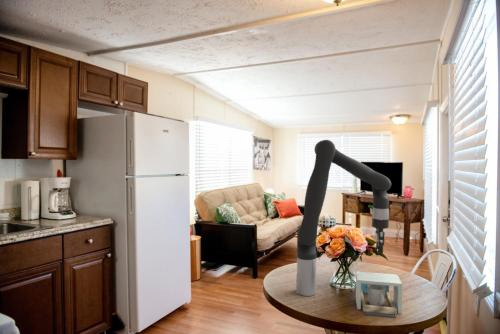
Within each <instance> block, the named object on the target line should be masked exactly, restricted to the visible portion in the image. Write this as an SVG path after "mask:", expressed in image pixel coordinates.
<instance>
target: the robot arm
mask: <svg viewBox="0 0 500 334" xmlns="http://www.w3.org/2000/svg"><path fill="white" fill-rule="evenodd" d="M314 154H315V161H314V166H313V169H312V171H311V172H312V173H311V176H310V177H309V180H308V183H307V187H306V190H305V197H304V204H303V205H304V208H303V216H302V219H301V220H302V221H301V224H300V226H299V227H298V229H297V231H296V232H297V233H296V243H297V245H296V254H297V255H296V256H297V258H296V260H297V261H296V263H297V264H296V265H297V266H296V270H297V271H296V285H295V286H296V287H295V288H296V294H297V295H300V296H305V297H310V296H311V297H312V296H315V295H317V238H318V226H319V220H320V216H321V212H322V210H323V206H324V203H325V199H326V195H327V191H328V190H327V189H328V183H329V182H328V181H329V176H330V175H329V174H330V170H331V166H332V164H335V165H337V166H338V167H340V168H341V169H343V170H345V171H346V172H347V173H349V174H351V175H352V176H354V177H355V178H357V179H359V180H361V181H363V182H365V183H367V184H369V185H371V191H372V198H373V199H372V214H371V227H372V228H375V230H374V232H375V233H374V234H375V236H374V237H375V243H376V244H375V249H376V250H377V254H378V255H379V254H381V255H382V254H384V246H385V235H386V233H385V231H384V229H389V225H390V211H389V209H390V208H389V204H390V201H389V197H388V195H387V191H389V190H390V189H391V187H392V182H391V179H389V177H387V176H385V174H381V173H379V172H377V171H375V170H373V168H371V167H369V166H368V165H366V164H364V163H363V162H360V161H358V160H356V159H354V158H352V157H350V156H348V155H346V154H344V153H342V152H341V151H339V150H338V149H337V148H336V145H335V144H334V142H333V141H332V140H329V139H321V140H320V141H318V142H317V143H316V144H315V145H314Z"/></svg>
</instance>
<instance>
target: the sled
mask: <svg viewBox="0 0 500 334" xmlns="http://www.w3.org/2000/svg"><path fill="white" fill-rule="evenodd" d="M367 285H368V284H366V283H361V309H362V312H364V313H365V311H367V312H376V313H385V314H395V315H396V316H397V314H398V312H397V308H396V307H395V305H394V302H393V299H392V298H393V297H391V293H390V286H388V285H383V286H384V287H385V288H386V292H385V296H386V298H387V301H388V304H389V306H384V305H382V306H374V305H371V304H366V303H365V296H364V294H368V293H367Z"/></svg>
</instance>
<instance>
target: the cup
mask: <svg viewBox="0 0 500 334" xmlns="http://www.w3.org/2000/svg"><path fill="white" fill-rule="evenodd" d="M385 292H386V288H385V287H384V286H383V285H377V284H368V285H367V293H366V294H367V300H368V304H369V305H374V306H384V304H385V298H386V295H385Z"/></svg>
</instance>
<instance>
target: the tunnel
mask: <svg viewBox="0 0 500 334" xmlns="http://www.w3.org/2000/svg"><path fill="white" fill-rule="evenodd" d="M361 283H366V284H377V285H388V286H389V287H390V286H391V287H393V297H392V298H393V299H392V301H393V303H394V306H395V308H397V314H400V315H402V313H403V283H402V281H401V279H400V277H399V276H398V274H396V273H395V274H393V273H380V272H368V271H366V272H365V271H358V270H357V271H355V303H356V309H357V310H361V309H362V302H361Z"/></svg>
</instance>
